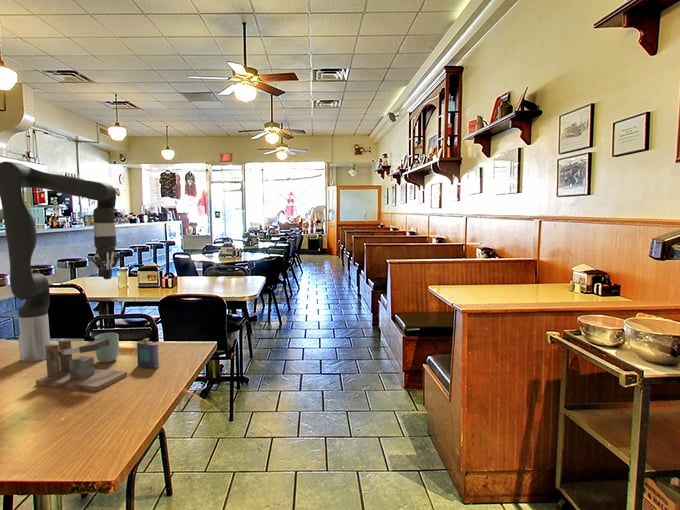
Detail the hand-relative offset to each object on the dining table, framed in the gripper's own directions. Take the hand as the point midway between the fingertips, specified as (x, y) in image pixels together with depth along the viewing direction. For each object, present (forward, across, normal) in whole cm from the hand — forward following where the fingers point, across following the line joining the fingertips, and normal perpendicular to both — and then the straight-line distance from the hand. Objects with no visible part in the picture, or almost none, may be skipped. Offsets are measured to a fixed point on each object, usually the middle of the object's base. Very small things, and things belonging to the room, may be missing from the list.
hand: (107, 278), depth 164 cm
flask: (+31, +8, +23) cm, 39 cm away
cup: (+31, +6, +4) cm, 32 cm away
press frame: (+31, +24, +10) cm, 40 cm away
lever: (+21, +24, +9) cm, 33 cm away
